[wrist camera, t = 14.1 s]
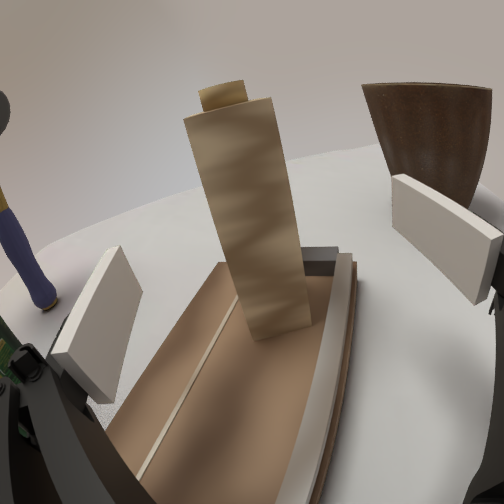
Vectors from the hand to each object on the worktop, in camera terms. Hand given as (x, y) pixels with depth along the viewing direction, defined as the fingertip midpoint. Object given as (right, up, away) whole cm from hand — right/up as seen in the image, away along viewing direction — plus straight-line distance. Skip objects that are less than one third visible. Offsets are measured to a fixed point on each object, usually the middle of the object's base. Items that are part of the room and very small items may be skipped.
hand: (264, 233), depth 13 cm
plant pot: (+21, +3, +17) cm, 27 cm away
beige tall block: (+1, -5, +8) cm, 9 cm away
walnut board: (-1, -11, +4) cm, 11 cm away
